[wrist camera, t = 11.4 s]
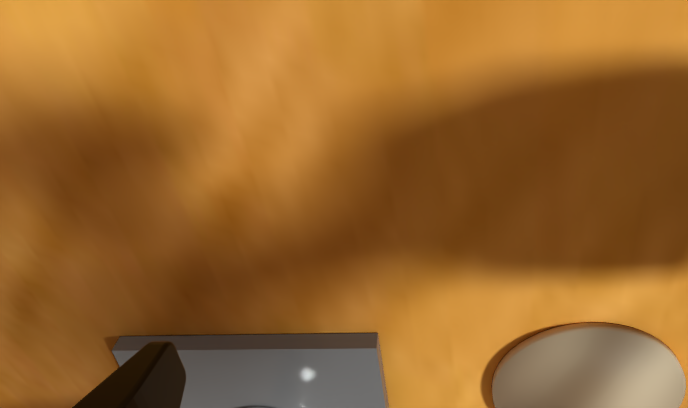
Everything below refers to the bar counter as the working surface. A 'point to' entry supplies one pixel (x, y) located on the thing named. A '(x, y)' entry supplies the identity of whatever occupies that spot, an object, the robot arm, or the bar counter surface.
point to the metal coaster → (589, 370)
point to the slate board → (275, 369)
